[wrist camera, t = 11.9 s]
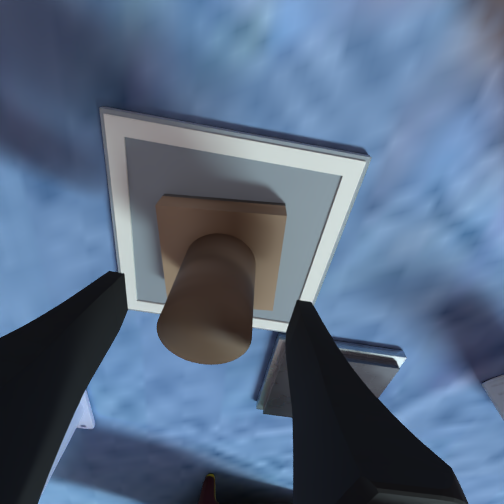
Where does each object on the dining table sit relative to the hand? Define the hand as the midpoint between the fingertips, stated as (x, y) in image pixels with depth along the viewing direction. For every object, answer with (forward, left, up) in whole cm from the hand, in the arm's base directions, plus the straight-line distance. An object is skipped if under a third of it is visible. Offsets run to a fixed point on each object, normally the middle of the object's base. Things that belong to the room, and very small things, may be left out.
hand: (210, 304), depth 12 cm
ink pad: (+9, -11, -5) cm, 15 cm away
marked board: (0, 0, -5) cm, 5 cm away
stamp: (0, 0, -4) cm, 4 cm away
